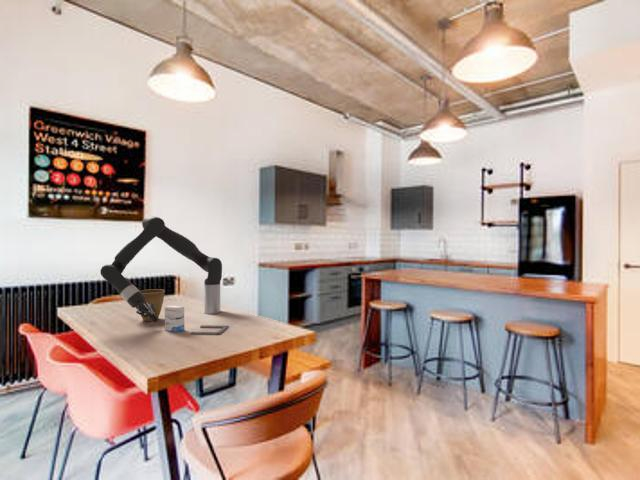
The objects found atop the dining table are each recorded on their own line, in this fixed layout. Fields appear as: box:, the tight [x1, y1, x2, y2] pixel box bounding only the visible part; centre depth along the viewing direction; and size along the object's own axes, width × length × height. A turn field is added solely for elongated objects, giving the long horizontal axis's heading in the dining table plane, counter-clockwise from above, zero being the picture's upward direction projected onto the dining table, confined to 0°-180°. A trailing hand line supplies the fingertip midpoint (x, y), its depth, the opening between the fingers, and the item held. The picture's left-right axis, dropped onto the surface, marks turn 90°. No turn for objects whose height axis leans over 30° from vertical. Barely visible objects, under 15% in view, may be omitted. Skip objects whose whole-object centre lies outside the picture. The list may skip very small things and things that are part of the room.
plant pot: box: [139, 288, 166, 322], centre depth 200 cm, size 15×15×16 cm
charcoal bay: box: [190, 324, 229, 336], centre depth 178 cm, size 14×14×1 cm
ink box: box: [164, 305, 185, 333], centre depth 179 cm, size 8×5×12 cm, turn 65°
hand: (157, 320), depth 179 cm, fingers closed
